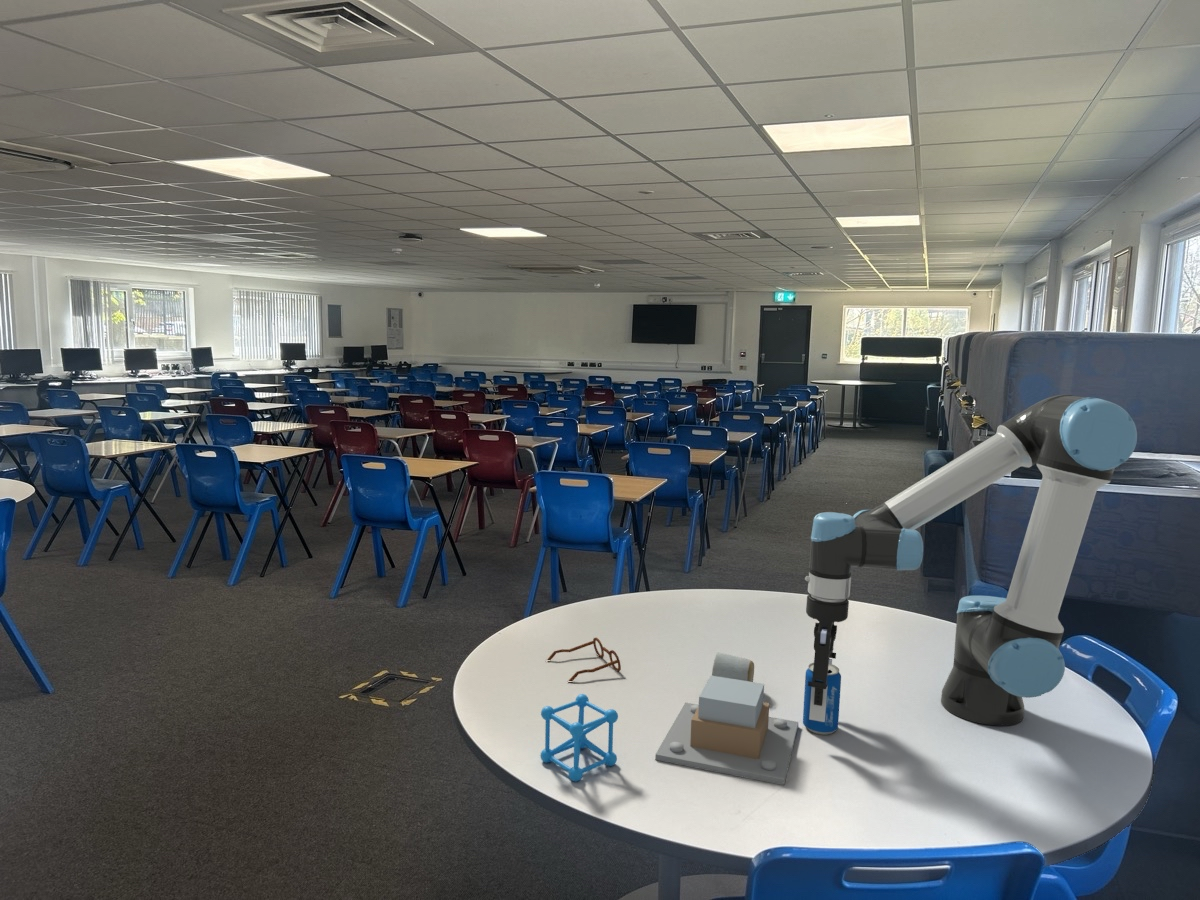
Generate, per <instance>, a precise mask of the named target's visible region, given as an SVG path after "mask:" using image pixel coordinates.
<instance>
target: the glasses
mask: <svg viewBox="0 0 1200 900" xmlns="http://www.w3.org/2000/svg"><path fill="white" fill-rule="evenodd" d="M596 642H597V643H598V645H599V647H600V651H601V653H600V652H599V651H598V648H597V644H596ZM591 645H593V648H594V651H595V654H596V655H597V654H598V655H599V656H600V657H601V659H602V658H604V657H605V653H606V654H607V655H608V657H609V661H610V662H607V663H605V664H602V665H599V666H597V667H594V668H590V669H588V668H587V669H582V670H581V669H580V670H578V671H575V673H574V674H573V675H572V676H571V677H569V679H568V681H572V682H573V681H574V680H575V679H576V678H577V677H578V675H580V674H585V673H594V672H598V671H600V670H603V669H605V668H608V667H611V666H612V668H613V669H614V670H615V669H616V670H617V671H618V672H621V667H622V665H621V660H620V658H619V656H618V654H617V653H616V651H615V650H613V649H611V650H609V649H607V647H605V646H603V644H602V642H601V640H600V639H599V638H598V637H593V640H591V641H588V642H586V643H582V644H580V645H578V646H575V647H571V648H569V649H568V648H567V649H563V648H562V649H557V650H553V652H552V653H551V654H550V655H549V657H548V658H547V659H546V660H550V661H551V660H552V659H553V658H554V657H555V656H556V654H559V653H572V652H574V651H577V650H581V649H583V648H585V647H588V646H591ZM612 654H613V655H612ZM598 655H597V656H598ZM599 656H598V657H599ZM613 656H614V657H615V660H614V659H613ZM600 657H599V658H600ZM615 664H617V666H616V665H615ZM616 670H615V671H616ZM617 671H616V672H617Z"/></svg>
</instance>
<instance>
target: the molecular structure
mask: <svg viewBox="0 0 1200 900" xmlns="http://www.w3.org/2000/svg"><path fill="white" fill-rule="evenodd" d="M575 706H577V707H578V708H579V709H578V721H577V722H573V723H570V722H568V721H567V720H565V719H563V718H561V716H560V717H559V716H557V715H556V713H559V712H562V711H564V710H567V709H569V708H572V707H575ZM586 707H588V708H590V709H592V710H594V711H596V712H597V713H600V714H602V715H603V716H602V717H600V718H597V719H595V720H591V721H589V722H586V723H585V722H584V721H585V708H586ZM540 715H541V718H542V719H543V720H545V725H544V726H545V727H544V728H545V731H544V733H545V734H544V735H545V737H544V738H545V740H544V741H545V743H544V747H545V748H543V750H541V752H540V755H539V756H540V760H541V761H542V762H543V763H547V764H549V763H551V762H552V763H554V764H555V765H558V767H561V768H562V769H563V770H564V771H566V772H568V777H569V779H570V780H571V781H572V782H579V781H580V780H582V779H583V775H584V774H585V773H586V772H589V771H592V770H593V769H596V768H597V767H600V766H602V765H606V766H608V767H612V766H614V765H616V763H617V761H618V758H617V757H618V756H617V754H616V753H615V752H614V750H613V748H614V747H613V743H614V741H613V739H614V738H613V737H614V724H615V723H616V722H617V721H618V719H619V714H618V712H617V710H615V709H612V708H610V709H607V710H605V709H603V708H601V707H600V706H597V705H596V704H593V703H592V702H590V701H589V697H588V696H587V694H584V693H580V694H578V695H576V697H575V701H571V702H568V703H565V704H564V705H563V704H562V705H560V706H558V707H554V708H553V706H550V705H546V706H544V707H543V708H542V709H541V711H540ZM551 720H553V721H554V722H555V723H557V725H559V726H561V727H562V728H563V729H565V730H566V731H568V732H569V734H570V735H571V738H569V739H567V740H565V741H564V742H562V743H561V744H560V745H558V746H556V747H554V748H553V749H551V748H550V736H551V735H550V732H551V729H550V727H551ZM606 723H608V740H607V741H608V742H607V743H608V746H607V747H608V749H607V750H608V751H607V752H606V751H604V750H602V749H601V748H600V747H598V746H597V745H596V744H595V743H593V742H591V741H590V740H589V739H588V738H587V736H586V735H587V734H589V733H590V732H592V731H593V730H595V729H598V728H599V727H600V726H602V725H604V724H606ZM572 748H573V766H572V767H570V766H568V764H566V763H564V762H562V761H561V760H559V759H558V758H556V757H555V755H558V754H560V753H562V752H565V751H567V750H570V749H572ZM585 748H587V749H588V750H590V751H592V752H594V753H595V754H597V755H599V756H600V757H602V758H603V759H601V760H599V761H598V760H597V762H593V763H592V764H589V765H587V766H585V767H580V766H579V765H580V756H581V755H580V754H581V753H580V752H581V750H583V749H585Z"/></svg>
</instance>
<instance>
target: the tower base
mask: <svg viewBox="0 0 1200 900" xmlns="http://www.w3.org/2000/svg"><path fill="white" fill-rule="evenodd" d="M764 693H765V684H764V683H761V682H754V681H753V682H749V681H743V680H736V679H730V678H724V677H717V676H712V675H710V676H709V678H708V679H707V681H706V684H705V685H704V686H703V689H702V690H701V692H700V694H699V696H698V704H696V703H691V702H685V703H683V706H682V707H681V709H680V711H679V713H678V714H677V716H676V718H675V720H674V721H673V723H672V725H671V727H670V729H669V730H668V732H667V733H666V735H665V737H664V738H663V741H662V742H661V744H660V746H659V748H658V749H657V751H656V753H655V761H660V762H666V763H671V764H675V765H681V766H686V767H689V768H696V769H700V770H706V771H711V772H715V773H721V774H727V775H730V776H735V777H741V778H746V779H752V780H755V781H761V782H767V783H771V784H776V785H779V786H780V785H782V786H785V784H786V783H785V782H786V779H787V774H788V771H789V766H790V762H791V758H792V754H793V750H794V744H795V741H796V738H797V737H796V736H797V732H798V728H799V721H795V720H791V719H784V718H779V717H778V718H777V717H773V716H770V714H769V713H770V703H769V702H764V699H765V697H764V695H765V694H764Z"/></svg>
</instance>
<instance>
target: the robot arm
mask: <svg viewBox="0 0 1200 900" xmlns="http://www.w3.org/2000/svg"><path fill="white" fill-rule="evenodd" d="M1137 430H1138V429H1137V426H1136V424H1135V421H1134V420H1133V418H1132V417H1131V415H1130V413H1128V412H1127V410H1126V409H1124V408H1123V407H1122V406H1120V405H1119V404H1117V403H1114V402H1111V401H1109V400H1106V399H1102V398H1100V397H1099V398H1098V397H1097V398H1096V397H1089V396H1088V397H1086V396H1076V395H1071V394H1058V395H1054V396H1050V397H1047V398H1044V399H1042V400H1040V401H1038V402H1036V403H1034V404H1032V405H1031V406H1029V407H1028V408H1026V409H1024V410H1022V411H1020V412H1019V413H1017V414H1016V415H1014V416H1013V417H1011V418H1009V419H1008V420H1006V421H1004V422H1002V423H1001V424H999V425H998V426H997V429H996V433H995V434H994V435H992V436H990V437H989V438H987V439H985V440H984V441H982V442H980V443H979V444H977V445H975V446H974V447H972V448H971V449H969V450H967V451H966V452H964V453H963V454H961V455H959V456H958V457H956V458H954V459H952V460H951V461H949V462H948V463H947V464H945V465H943V466H942V467H939V468H938V469H937V470H935V471H934V472H932V473H931V474H929V475H927V476H925V477H923V478H921V480H919V481H917V482H915V483H914V484H912V485H910V486H908V487H907V488H906V489H904V490H902V491H901V492H899V493H897V494H896V495H894V496H893V497H891V498H890V499H888V500H887V501H884V502H883V503H880V504H879V505H878V506H875V508H872V509H862V510H859V511H857V512H856V513H855V514H854V515H853V516H852V515H850V514H848V513H847V514H846V513H842V512H840V513H839V512H833V511H826V512H820V513H818V514H815V516H814V517H813V520H812V528H811V529H812V530H811V534H810V551H809V552H810V553H809V566H808V567H809V568H808V569H809V570H808V575H806V576H805V577H804V580H805V581H806V582H808V583H807V592H808V593H809V594H808V595H807V596H806V607H805V611H806V614H807V616H808V617H809V618H811V619H814V620H817V621H818V622H814V623H815V625H814V626H813V627H814V628H813V637H814V640H813V650H814V656H813V658H814V660H813V663H814V667H813V677H812V682H810V681H808V686H812V688H811V702H810V715H809V719H810V720H815V721H821V722H825V712H826V699H827V676H828V666H829V664H832V665H833V660H834V659H836V658H837V653H836V652H834V643H835V641H836V637H837V631H838V625H835V623H841V622H843V621H846V620H847V619H848V615H849V606H850V605H849V604H850V602H849V597H850V596H851V595H850V594H851V584H852V569H853V568H865V569H866V568H867V569H877V570H878V569H881V570H890V571H891V570H892V571H898V572H900V571H915V570H918V569H919V568H920V567H921V565H922V561H923V556H924V541H923V537H922V535H921V533H920V532H919V531H918V530H916V529H919V527H921V526H923V525H924V524H927V523H929V522H930V521H931V520H933V519H935V518H936V517H939V516H940V515H942V514H943V513H945V512H946V511H948V510H950V509H951V508H953V507H955V506H957V505H958V504H960V503H962V502H963V501H965V500H967V499H968V498H970V497H972V496H974V495H975V494H976V493H979V492H980V491H981V490H983V489H986V488H987V487H988V486H990V485H992V484H993V483H995V482H997V481H999V480H1000V479H1002V478H1003V477H1005V476H1007V475H1009V474H1011V473H1012V472H1013V471H1015V470H1018V469H1019V468H1020V467H1023V468H1031V467H1033V466H1034V465H1036V467H1037V468H1038V470H1039V471H1040V473H1041V474H1042V475H1041V476H1042V478H1041V481H1040V485H1039V488H1038V490H1037V495H1036V498H1035V501H1034V504H1033V508H1032V512H1031V514H1030V519H1029V521H1028V524H1027V528H1026V532H1025V535H1024V538H1023V542H1022V545H1021V548H1020V551H1019V555H1018V559H1017V562H1016V564H1015V565H1016V566H1015V569H1014V572H1013V574H1012V579H1011V581H1010V582H1011V583H1010V585H1009V589H1008V592H1007V596H1006V597H999V596H992V595H967V596H963V597H961V598H960V599H959V600H958V601H959V602H958V606H957V607H958V608H957V610H956V627H955V639H954V653H953V664H952V665H953V666H952V668H951V670H950V672H949V673H948V677H947V679H946V681H945V683H944V685H943V686H942V689H941V697H940V703H941V705H942V707H943V708H944V709H945V710H946V711H947V712H950V713H951V714H953V715H954V716H957V717H959V718H962V719H964V720H966V721H969V722H973V723H977V724H980V725H981V724H983V725H988V726H989V725H990V726H998V727H999V726H1000V727H1002V726H1004V727H1005V726H1007V727H1008V726H1014V725H1017V724H1019V723H1021V722H1022V721H1023V720H1024V719H1025V718H1024V716H1025V703H1024V698H1036V697H1037V698H1038V697H1041V696H1042V695H1044V694H1048V693H1050V692H1051V691H1053V690H1054V689H1056V688H1057V686H1058V685H1059V684H1060V683H1061V681H1062V679H1063V678H1064V675H1065V671H1066V664H1065V659H1064V657H1063V654H1062V652H1061V651H1060V649H1059V648H1060V644H1061V641H1062V637H1063V635H1064V631H1065V628H1064V626H1063V625H1062V623H1061V621H1060V620H1059V613H1060V611H1061V607H1062V605H1063V601H1064V597H1065V595H1066V592H1067V591H1066V590H1067V587H1068V585H1069V581H1070V579H1071V574H1072V571H1073V568H1074V565H1075V562H1076V559H1077V555H1078V553H1079V548H1080V546H1081V543H1082V539H1083V536H1084V533H1085V529H1086V526H1087V525H1088V524H1087V523H1088V520H1089V518H1090V517H1089V516H1090V514H1091V510H1092V507H1093V503H1094V500H1095V497H1096V494H1097V491H1098V490H1099V489H1100V488H1101V487H1104V486H1105V485H1108V484H1110V483H1111V481H1112V479H1113V478H1112V477H1113V474H1114V471H1115V468H1118V467H1119V466H1121V465H1122V464H1123V463H1125V462H1127V461H1128V460H1129V459H1130V457H1131V456H1132V454H1133V452H1135V449H1136V446H1137V441H1138V431H1137ZM818 680H822V681H818Z"/></svg>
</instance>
